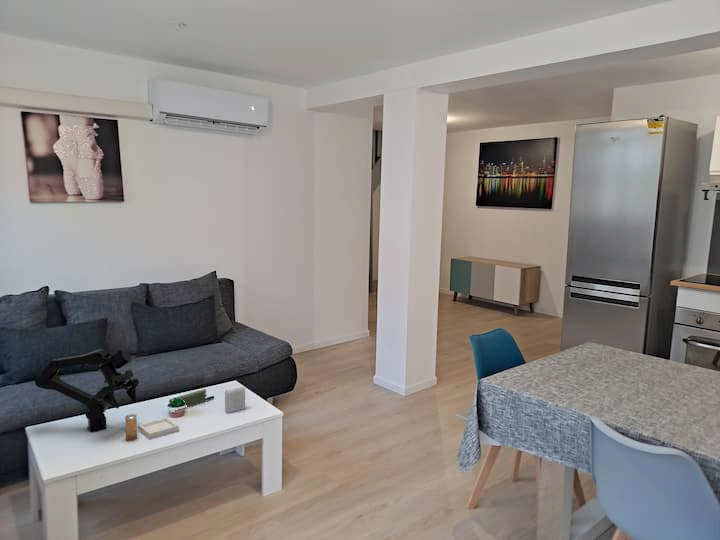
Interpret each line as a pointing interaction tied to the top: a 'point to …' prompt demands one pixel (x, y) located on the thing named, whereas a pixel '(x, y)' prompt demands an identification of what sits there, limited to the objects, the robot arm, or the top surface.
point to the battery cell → (131, 427)
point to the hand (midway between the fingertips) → (127, 405)
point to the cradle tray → (158, 428)
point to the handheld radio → (194, 398)
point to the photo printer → (234, 398)
